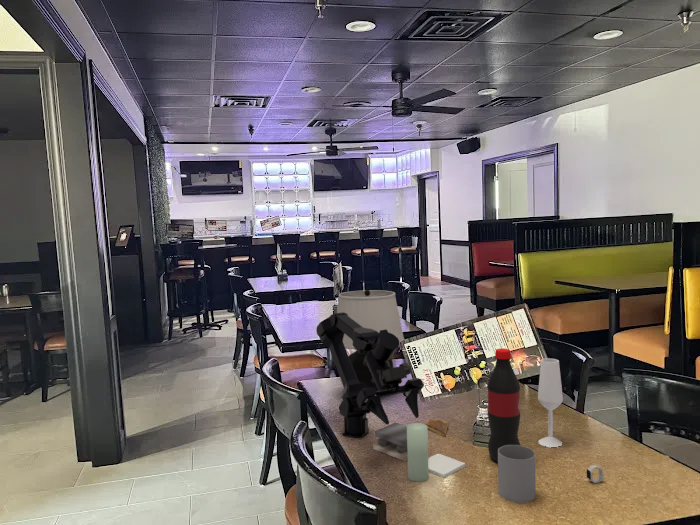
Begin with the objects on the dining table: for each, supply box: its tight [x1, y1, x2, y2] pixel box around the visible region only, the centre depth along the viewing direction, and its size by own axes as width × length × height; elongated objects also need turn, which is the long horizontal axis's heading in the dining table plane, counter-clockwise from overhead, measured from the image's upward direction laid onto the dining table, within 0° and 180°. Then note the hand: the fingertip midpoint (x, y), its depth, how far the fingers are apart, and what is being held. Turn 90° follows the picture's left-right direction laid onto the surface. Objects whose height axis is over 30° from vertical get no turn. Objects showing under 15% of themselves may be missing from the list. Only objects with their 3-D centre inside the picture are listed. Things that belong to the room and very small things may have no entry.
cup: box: [497, 444, 537, 504], centre depth 125 cm, size 8×8×10 cm
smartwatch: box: [586, 464, 605, 484], centre depth 130 cm, size 4×2×4 cm, turn 96°
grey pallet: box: [372, 422, 408, 462], centre depth 152 cm, size 12×10×5 cm
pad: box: [428, 453, 466, 479], centre depth 141 cm, size 9×9×1 cm
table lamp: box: [336, 289, 405, 390], centre depth 201 cm, size 27×27×40 cm
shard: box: [424, 419, 449, 438], centre depth 166 cm, size 11×8×2 cm
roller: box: [406, 422, 430, 483], centre depth 135 cm, size 5×5×13 cm
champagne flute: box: [537, 357, 564, 448], centre depth 153 cm, size 7×7×24 cm
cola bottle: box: [486, 347, 521, 463], centre depth 143 cm, size 8×8×30 cm
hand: (403, 420), depth 140 cm, fingers open, 9 cm apart
